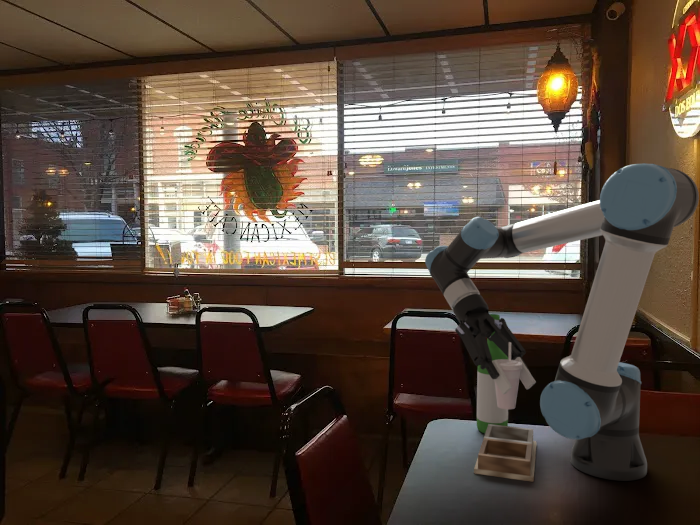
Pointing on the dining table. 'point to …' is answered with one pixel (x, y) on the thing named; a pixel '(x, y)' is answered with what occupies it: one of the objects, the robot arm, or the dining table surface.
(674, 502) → the dining table surface
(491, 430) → the board
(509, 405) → the smoothie
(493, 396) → the wine bottle
